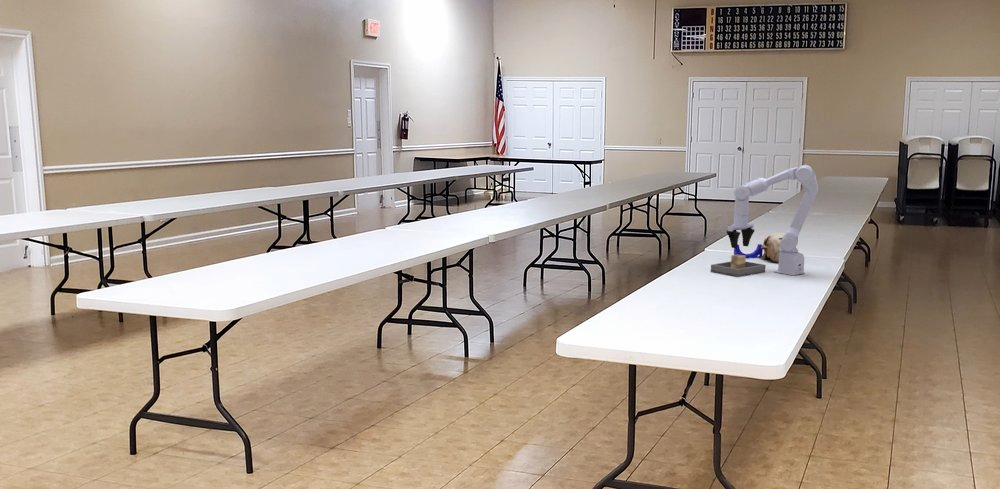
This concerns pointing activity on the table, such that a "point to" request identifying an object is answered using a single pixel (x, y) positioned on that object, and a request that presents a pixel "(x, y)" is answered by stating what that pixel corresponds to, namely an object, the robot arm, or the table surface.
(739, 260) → the maple block
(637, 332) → the table surface
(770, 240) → the coin bank
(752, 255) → the cable clip
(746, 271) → the tray
